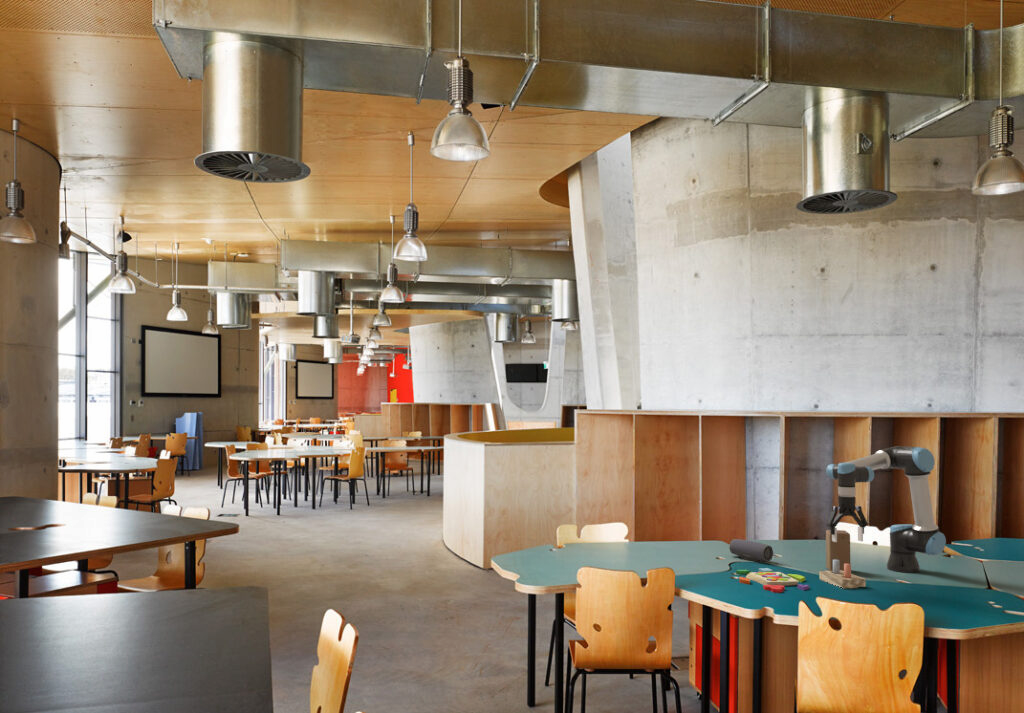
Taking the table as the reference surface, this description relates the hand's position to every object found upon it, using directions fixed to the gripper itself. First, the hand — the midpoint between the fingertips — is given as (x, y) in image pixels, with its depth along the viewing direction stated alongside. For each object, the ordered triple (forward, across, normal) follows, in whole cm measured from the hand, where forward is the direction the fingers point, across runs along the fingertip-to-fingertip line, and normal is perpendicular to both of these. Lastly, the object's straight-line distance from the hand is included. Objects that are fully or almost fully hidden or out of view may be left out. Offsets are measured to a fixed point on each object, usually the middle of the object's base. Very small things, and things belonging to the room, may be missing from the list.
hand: (847, 541), depth 356 cm
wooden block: (+21, -15, -29) cm, 39 cm away
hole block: (+21, 0, -4) cm, 21 cm away
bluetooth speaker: (+21, +16, -62) cm, 67 cm away
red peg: (+21, 0, 0) cm, 21 cm away
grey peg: (+21, 0, -9) cm, 22 cm away
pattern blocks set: (+21, +31, -14) cm, 40 cm away
